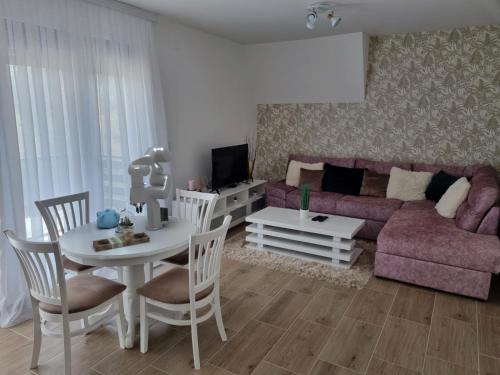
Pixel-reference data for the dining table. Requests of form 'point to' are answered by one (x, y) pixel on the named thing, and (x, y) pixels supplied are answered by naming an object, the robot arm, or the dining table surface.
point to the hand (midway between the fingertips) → (139, 212)
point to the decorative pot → (107, 218)
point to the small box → (164, 214)
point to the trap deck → (120, 242)
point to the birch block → (128, 234)
